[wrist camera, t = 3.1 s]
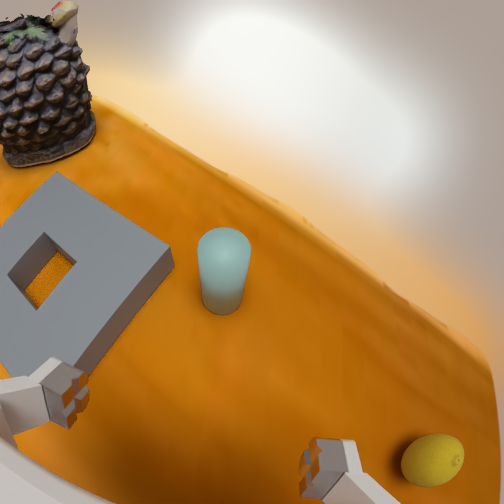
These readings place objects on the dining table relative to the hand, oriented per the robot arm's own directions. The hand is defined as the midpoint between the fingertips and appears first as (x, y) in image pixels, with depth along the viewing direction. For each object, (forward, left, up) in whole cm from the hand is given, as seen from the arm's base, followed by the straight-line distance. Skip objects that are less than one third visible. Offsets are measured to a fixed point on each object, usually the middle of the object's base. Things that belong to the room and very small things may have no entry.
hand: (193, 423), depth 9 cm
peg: (+6, -11, -18) cm, 22 cm away
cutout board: (+22, -1, -18) cm, 28 cm away
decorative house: (+45, -16, -18) cm, 51 cm away
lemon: (-20, -5, -18) cm, 28 cm away
